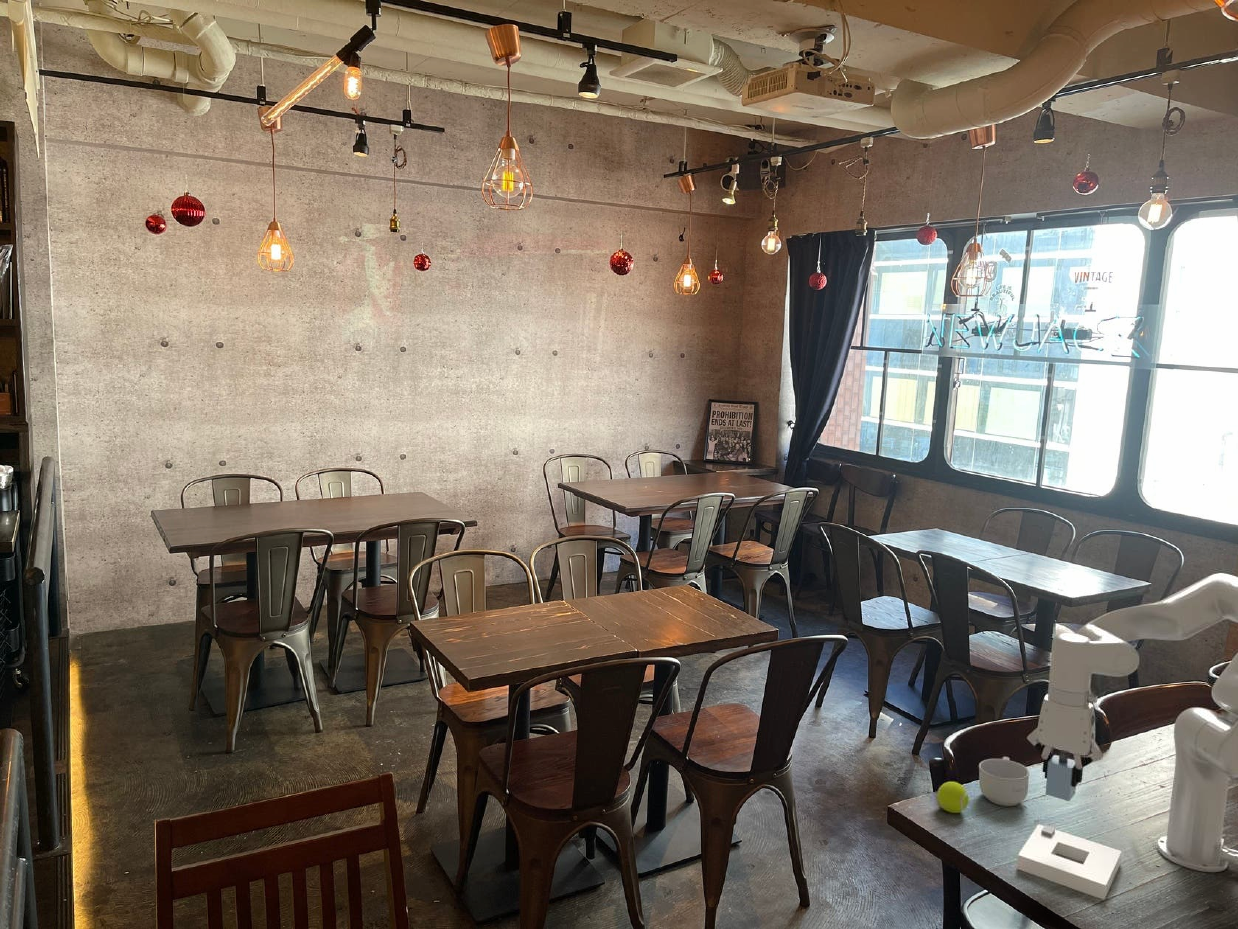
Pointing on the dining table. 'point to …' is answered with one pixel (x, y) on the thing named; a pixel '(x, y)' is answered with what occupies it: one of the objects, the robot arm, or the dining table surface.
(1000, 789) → the teacup
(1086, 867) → the socket
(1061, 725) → the robot arm
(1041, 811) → the dining table surface
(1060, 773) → the plug
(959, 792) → the tennis ball
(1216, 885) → the dining table surface
